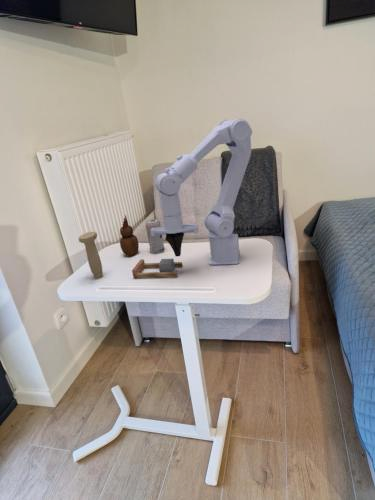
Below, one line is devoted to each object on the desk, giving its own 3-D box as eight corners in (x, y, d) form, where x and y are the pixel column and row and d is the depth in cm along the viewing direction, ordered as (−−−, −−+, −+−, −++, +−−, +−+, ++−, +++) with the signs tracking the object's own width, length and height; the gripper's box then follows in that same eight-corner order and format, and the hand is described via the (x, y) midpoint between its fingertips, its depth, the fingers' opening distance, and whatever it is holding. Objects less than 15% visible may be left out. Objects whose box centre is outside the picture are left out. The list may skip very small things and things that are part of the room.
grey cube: (175, 269, 108) (173, 258, 106) (172, 275, 104) (170, 263, 103) (163, 269, 109) (161, 258, 107) (160, 275, 105) (158, 264, 104)
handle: (87, 280, 108) (75, 239, 103) (97, 272, 114) (86, 231, 108) (99, 281, 107) (88, 238, 101) (109, 272, 112) (99, 231, 107)
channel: (182, 266, 109) (181, 257, 108) (176, 277, 102) (175, 269, 101) (142, 267, 112) (140, 259, 111) (133, 278, 105) (131, 270, 104)
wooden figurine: (132, 249, 129) (124, 213, 124) (142, 251, 126) (135, 214, 120) (119, 256, 124) (111, 219, 119) (130, 258, 121) (122, 220, 115)
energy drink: (165, 247, 127) (160, 218, 122) (163, 253, 122) (157, 222, 117) (152, 248, 127) (146, 219, 123) (149, 254, 123) (143, 224, 118)
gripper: (197, 208, 100) (202, 248, 105) (152, 211, 103) (159, 251, 108) (194, 215, 94) (199, 257, 99) (146, 218, 96) (153, 260, 102)
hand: (178, 255), depth 103 cm, fingers closed
